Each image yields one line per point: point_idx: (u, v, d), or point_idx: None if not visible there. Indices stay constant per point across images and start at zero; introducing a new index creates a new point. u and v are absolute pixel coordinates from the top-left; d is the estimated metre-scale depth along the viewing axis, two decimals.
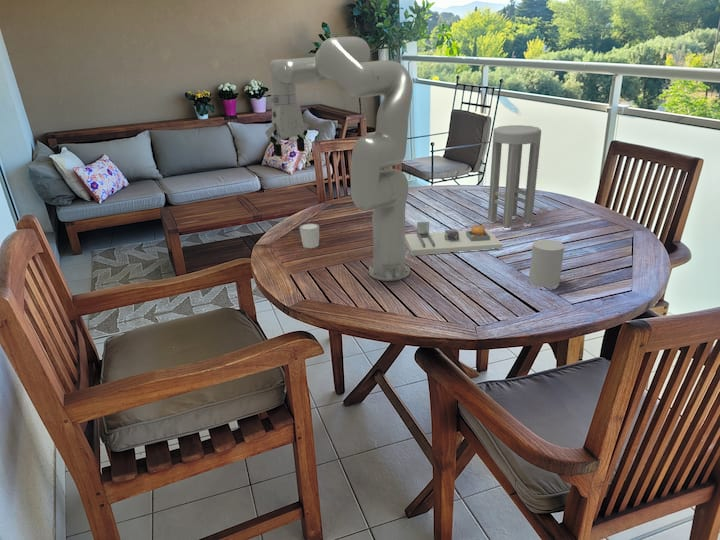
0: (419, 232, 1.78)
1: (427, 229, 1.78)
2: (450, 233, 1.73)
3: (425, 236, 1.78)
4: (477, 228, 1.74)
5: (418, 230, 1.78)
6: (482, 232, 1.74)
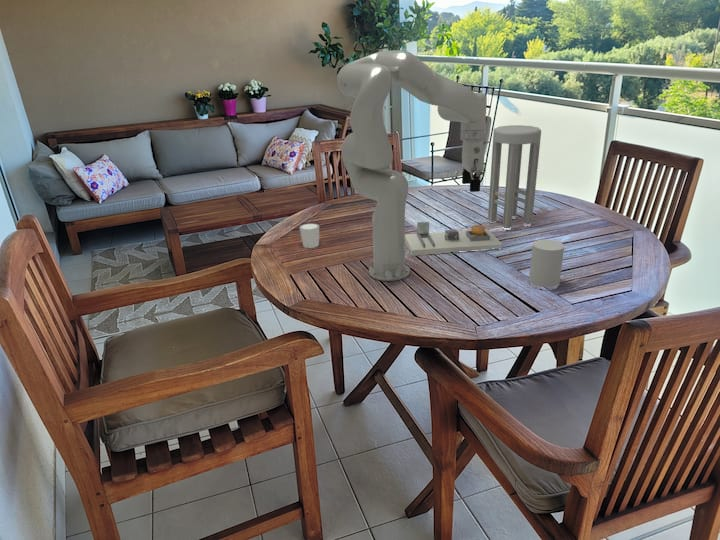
0: (419, 232, 1.78)
1: (427, 229, 1.78)
2: (450, 233, 1.73)
3: (425, 236, 1.78)
4: (477, 228, 1.74)
5: (418, 230, 1.78)
6: (482, 232, 1.74)
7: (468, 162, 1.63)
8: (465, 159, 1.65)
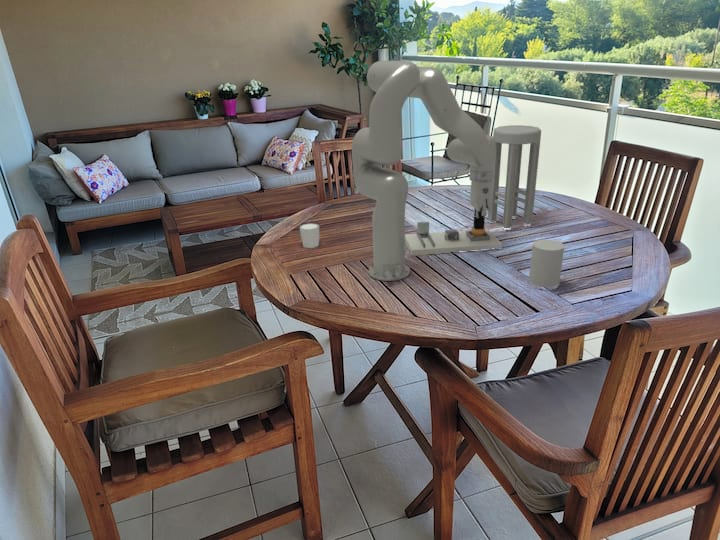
0: (419, 232, 1.78)
1: (427, 229, 1.78)
2: (450, 233, 1.73)
3: (425, 236, 1.78)
4: (477, 229, 1.74)
5: (418, 230, 1.78)
6: (482, 233, 1.74)
7: (477, 202, 1.67)
8: (474, 198, 1.70)
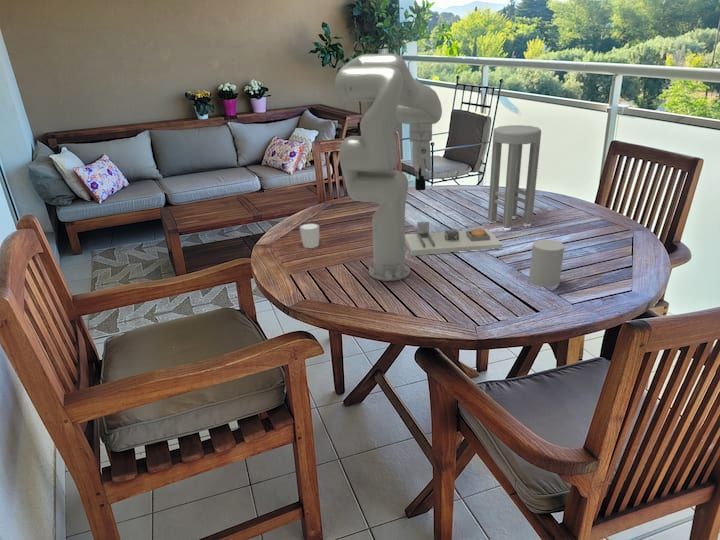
0: (419, 232, 1.78)
1: (427, 229, 1.78)
2: (450, 233, 1.73)
3: (425, 236, 1.78)
4: (477, 232, 1.75)
5: (418, 230, 1.78)
6: None
7: (416, 162, 1.72)
8: (414, 159, 1.74)
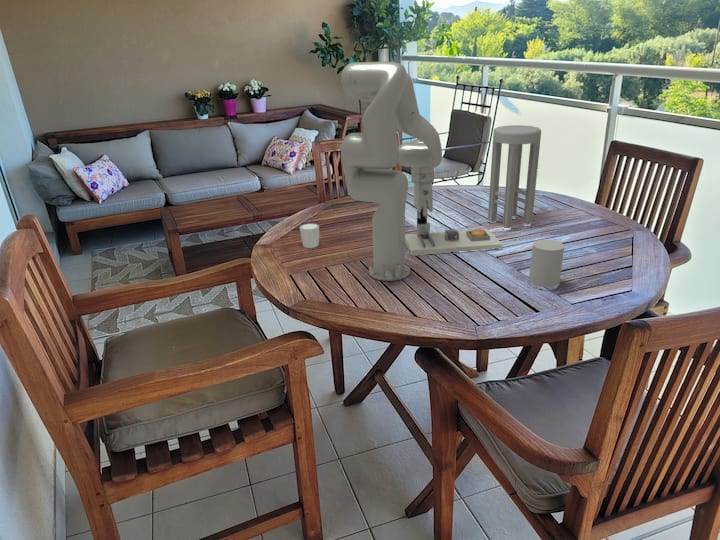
0: (420, 233, 1.77)
1: (428, 230, 1.77)
2: (450, 233, 1.73)
3: (426, 237, 1.77)
4: (477, 232, 1.75)
5: (419, 231, 1.77)
6: None
7: (418, 203, 1.72)
8: (415, 200, 1.75)
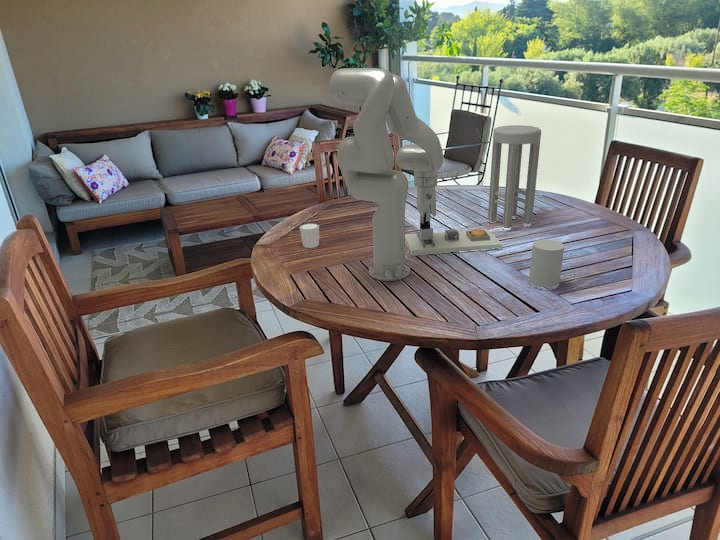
0: (422, 238, 1.73)
1: (431, 235, 1.73)
2: (450, 233, 1.73)
3: (429, 242, 1.73)
4: (477, 232, 1.75)
5: (421, 236, 1.72)
6: None
7: (421, 207, 1.68)
8: (418, 204, 1.70)
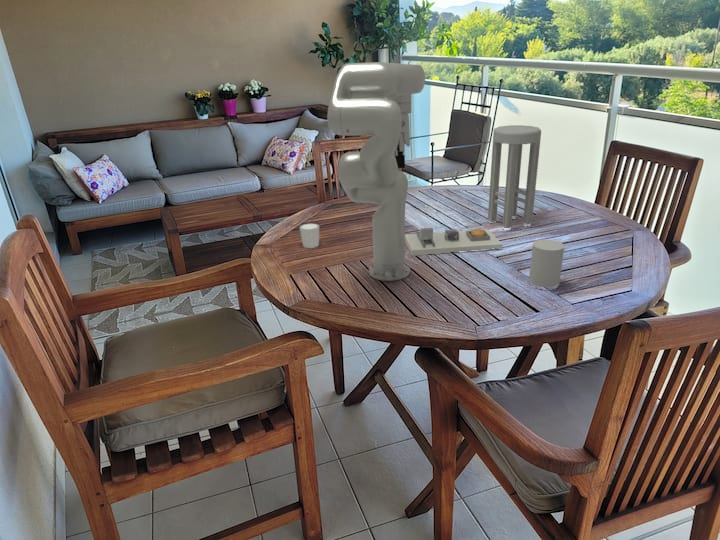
0: (423, 238, 1.73)
1: (431, 236, 1.73)
2: (450, 233, 1.73)
3: (429, 242, 1.72)
4: (477, 232, 1.75)
5: (421, 236, 1.72)
6: None
7: None
8: None
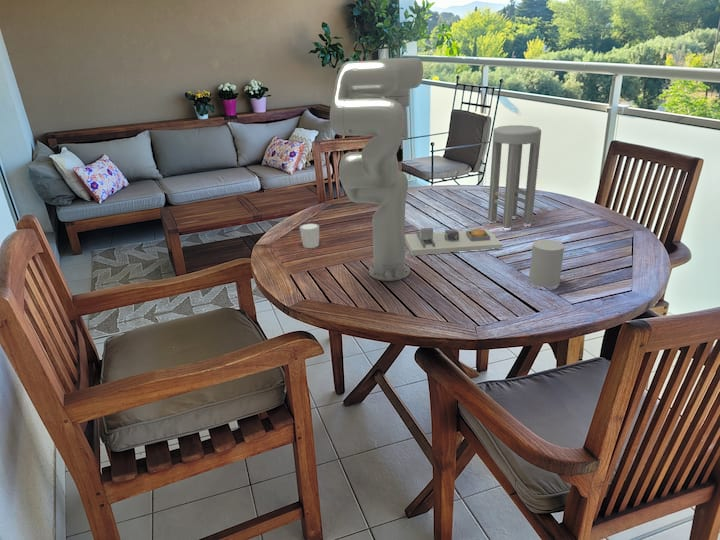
0: (423, 238, 1.73)
1: (431, 236, 1.73)
2: (450, 233, 1.73)
3: (429, 242, 1.72)
4: (477, 232, 1.75)
5: (421, 236, 1.72)
6: None
7: None
8: None
